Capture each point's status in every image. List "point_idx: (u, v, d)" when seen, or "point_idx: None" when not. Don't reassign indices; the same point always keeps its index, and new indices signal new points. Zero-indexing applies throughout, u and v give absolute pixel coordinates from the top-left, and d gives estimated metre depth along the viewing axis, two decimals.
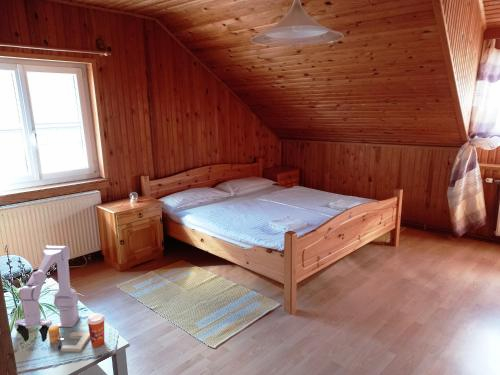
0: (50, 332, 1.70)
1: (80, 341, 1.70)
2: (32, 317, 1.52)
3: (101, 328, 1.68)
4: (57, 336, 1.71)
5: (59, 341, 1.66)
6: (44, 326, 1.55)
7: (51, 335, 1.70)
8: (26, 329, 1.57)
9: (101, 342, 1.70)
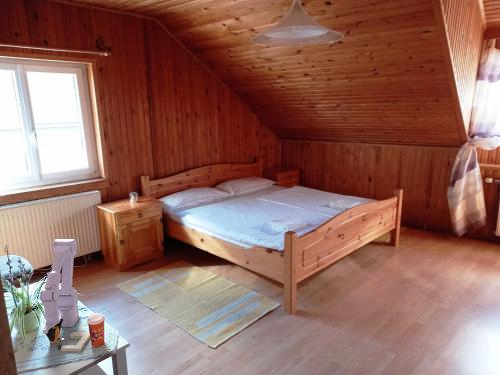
0: None
1: (80, 341, 1.70)
2: (45, 315, 1.68)
3: (101, 328, 1.68)
4: (57, 336, 1.71)
5: (59, 341, 1.66)
6: None
7: None
8: (57, 325, 1.74)
9: (101, 342, 1.70)
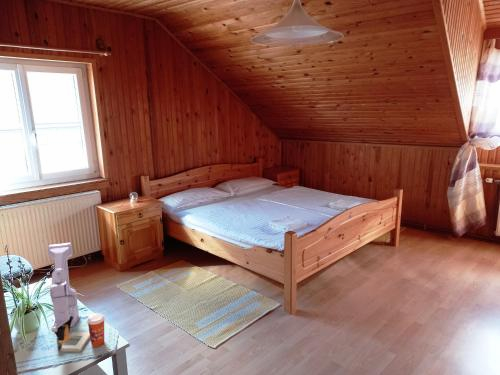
0: None
1: (80, 341, 1.70)
2: None
3: (101, 328, 1.68)
4: (66, 335, 1.61)
5: None
6: None
7: None
8: (66, 323, 1.64)
9: (101, 342, 1.70)
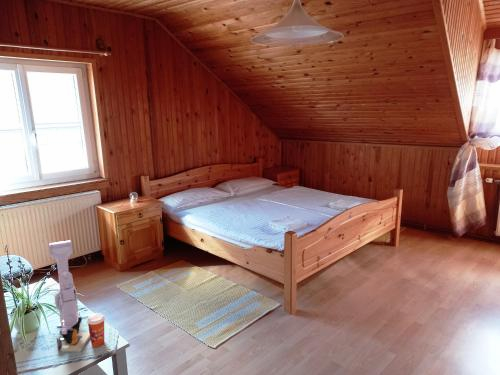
0: None
1: (80, 341, 1.70)
2: (63, 315, 1.66)
3: (101, 328, 1.68)
4: (75, 339, 1.70)
5: (59, 341, 1.66)
6: None
7: None
8: (76, 324, 1.73)
9: (101, 342, 1.70)
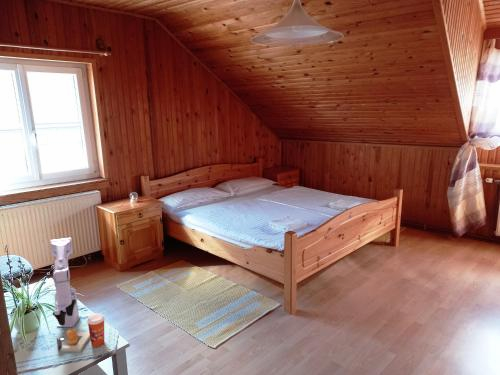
0: (68, 335, 1.68)
1: (80, 341, 1.70)
2: (56, 297, 1.67)
3: (101, 328, 1.68)
4: (75, 339, 1.70)
5: (59, 341, 1.66)
6: None
7: (69, 338, 1.68)
8: (70, 306, 1.74)
9: (101, 342, 1.70)
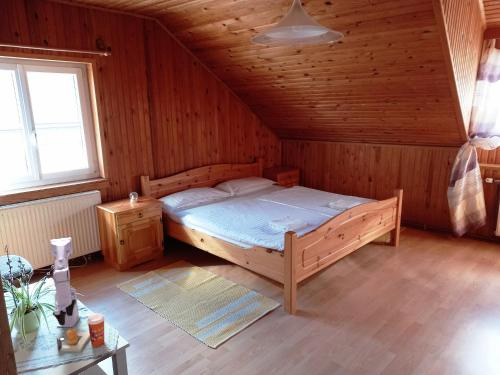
0: (68, 335, 1.68)
1: (80, 341, 1.70)
2: (56, 297, 1.67)
3: (101, 328, 1.68)
4: (75, 339, 1.70)
5: (59, 341, 1.66)
6: None
7: (69, 338, 1.68)
8: (70, 306, 1.74)
9: (101, 342, 1.70)
